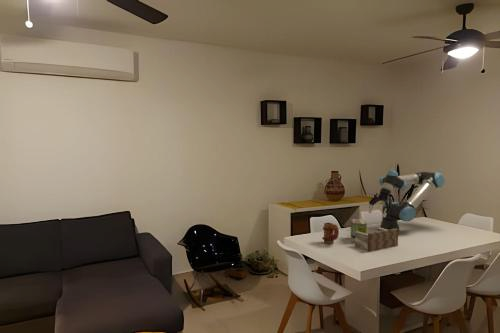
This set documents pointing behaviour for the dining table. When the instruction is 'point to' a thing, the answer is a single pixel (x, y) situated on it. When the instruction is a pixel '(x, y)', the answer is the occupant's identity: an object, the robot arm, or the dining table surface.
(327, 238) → the reddish-brown rounded piece
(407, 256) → the dining table surface
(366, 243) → the patterned planter box
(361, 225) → the tea box
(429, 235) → the dining table surface
